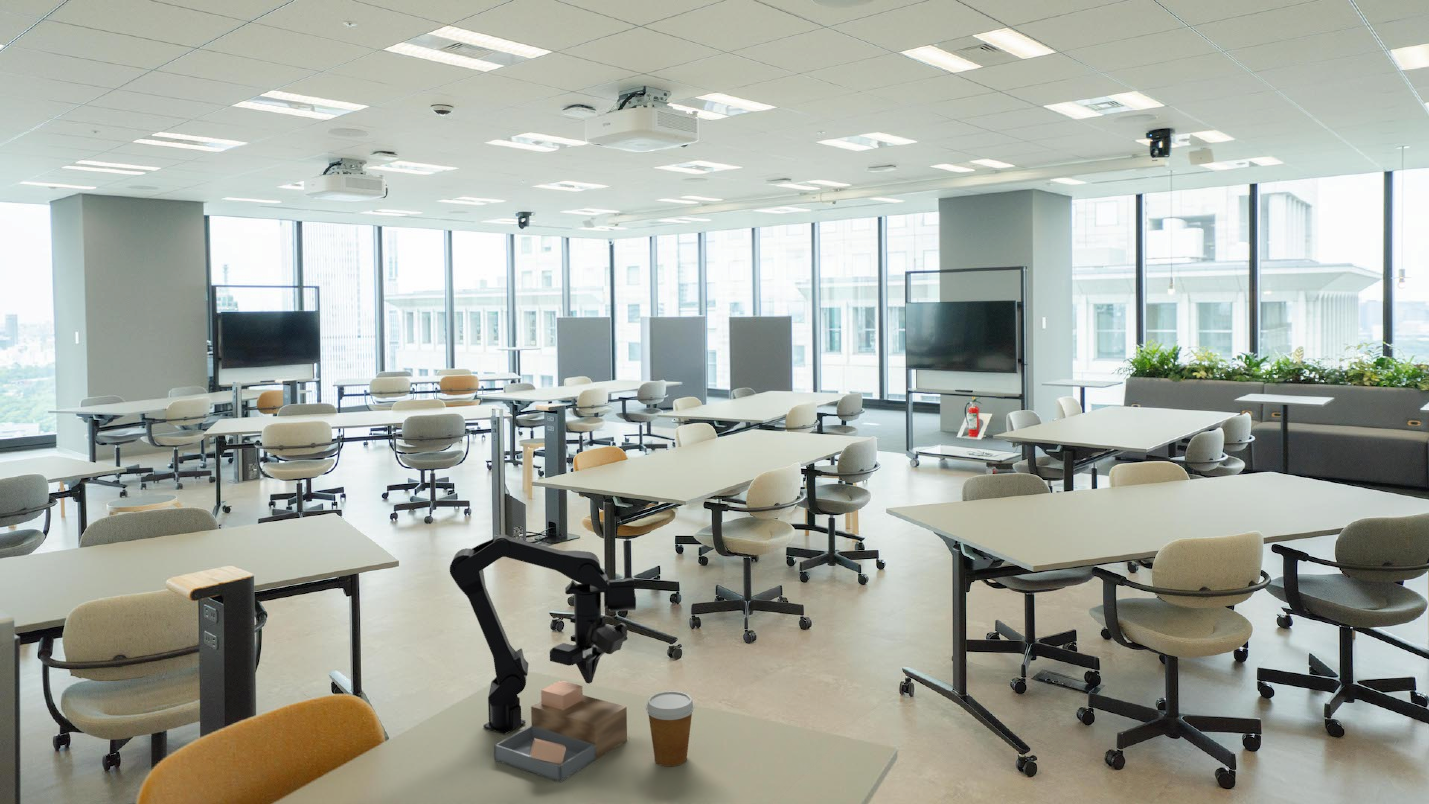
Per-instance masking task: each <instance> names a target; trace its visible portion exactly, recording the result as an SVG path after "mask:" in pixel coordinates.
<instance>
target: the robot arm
mask: <svg viewBox="0 0 1429 804" xmlns="http://www.w3.org/2000/svg"><path fill="white" fill-rule="evenodd" d="M503 557H504V558H508V559H511V560H516V561H518V562H519V561H520V562H523V563H527V564H530V565H534V566H538V567H542V568H546V569H550V570H553V571H555V572H556V571H557V572H558V573H560V574H562V575H563V576H565V577H567V578H569V579H571V581H570V583H569V584H567V586H566V587H565V589H564V590H565V591H564V592H565V595H573V607H574V608H573V609H574V610H573V611H574V612H573V614H574V615H573V616H570V617H569V619H570V623H572V624H574V634H573V635H571V636H570V642H574V643H575V644H574V645H573V644H569V643H565V642H562V643H560V644H557V645H556V646H554V647H552V648H550V650H549V662H552V663H557V664H561V665H565V666H574V665H576V666H577V668H578V670H579V672H580V674H581V676H582V678H583V680H584V682H585V683H586V684H587V685H588V684H589V685H590V684H592V683H593V681H594V677H595V673H596V670H597V668H598V664H599V661H600V659H601V658H602V656H603V655H604V654H606V655H612V654H613V653H614V652H616V651H620V650H621V649H622V645H623V643H624V642H625V641H627V640H628V626H627V624H625V623H624V622H621V623H617V624H616V625H614V624H613V625H612V624H611V625H610V624H608V623H607V618H606V615H602V593H603V607H604V608H607V610H609V612H620V611H622V612H623V611H624V612H625V611H636V609H637V596H636V592H635V579H634V578H633V577H627V578H622V579H621V578H620V579H609V576H608V575H607V574H606V573H605V571H604V570H603V569H602V568H601V562H600V559H599V558H598V556H597V554H595V553H594V552H590V551H581V550H561V549H560V550H559V549H555V548H554V547H548V546H546V545H541V544H537V543H534V542H531V541H526V540H523V539H520V538H515V537H512V536H509V535H508V534H504V533H502V534H498V535H497V536H496V537H493V538H491V539H489V540H487V541H485V542H482V543H480V544H478V545H476V546H474V547H472V548H462V549H461V550H460V549H459V551H457V552H456V554H454V557H453V559H452V561H451V563H450V565H449V574H450V576H451V577H452V579H453V581H454V582H455V583H456V585H457V587H458V588H459V589H460V591H461V592H462V593H463V594H464V595H465V597H467V598H468V600H469V603H470V605H471V608H472V610H473V613H474V615H475V617H476V620H477V621H478V624H479V626H480V629H481V631H482V633H483V636H484V638H485V640H486V643H487V645H488V648H489V649H490V653H491V655H492V658H493V663H494V673H495V677H494V679H492V681H491V682H490V687H489V693H488V697H487V703H488V708H487V709H488V710H487V711H488V722H486V723H485V724H483V729H487V730H491V731H493V732H496V733H500V734H502V735H506V734H508V733H510V732H512V731H514V730H516V729H517V728H519V727H521V726H523V725H525V724H526V720H525V719H522V705H521V704H520V701H521V698H520V697H519V696H518V695H519V694H520V693H522V692H523V691H524V690H525V688H526V685H527V676H528V674H529V672H528V671H529V662H528V661H527V660H526V659H525V657H524V652H523V648H519V649H517V650H515V649H514V648H513V646H512V645H511V643H510V641H509V638H508V636H507V633H506V631H505V630H504V626H503V625H502V621H501V620H500V618H499V615H498V613H497V611H496V610H497V609H496V608H495V606H494V603H493V600H492V598H491V596H490V594H489V592H488V589H487V586H486V581H485V580H486V579H485V573H484V570H485V568H487V567H489V566H490V565H491V564H493V563H495V562H496V561H498V560H500V559H501V558H503Z"/></svg>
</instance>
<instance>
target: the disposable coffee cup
mask: <svg viewBox="0 0 1429 804" xmlns="http://www.w3.org/2000/svg"><path fill="white" fill-rule="evenodd" d="M694 709H695V702H694V701H693V698H692V697H691V695H690V694H688V693H685V692H682V691H678V690H677V691H672V690H671V691H669V690H668V691H661V692H660V691H659V692H657V693H654V694H652V695H651V696H650V697H648V699H647V703H646V706H645V710H646V711H647V715H648V722H649V727H650V735H651V742H652V747H653V748H652V749H653V755H654V761H655V763H656V764H658V765H659V766H664V767H677V766H680V765H682V764H684V763H686V762H687V758H688V750H689V743H690V741H689V740H690V731H691V724H692V717H693V716H692V715H693V712H694Z"/></svg>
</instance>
